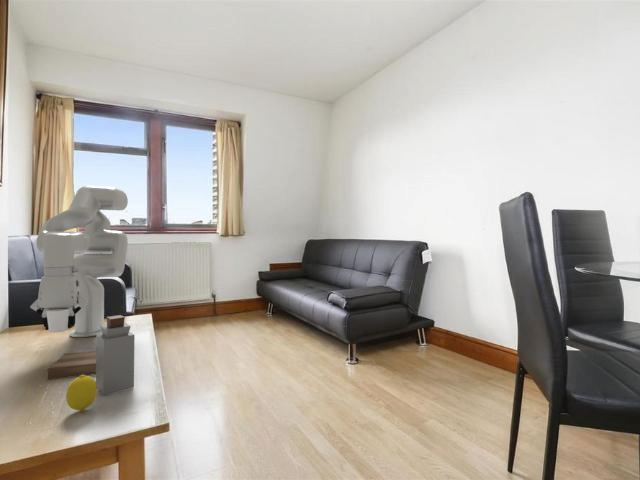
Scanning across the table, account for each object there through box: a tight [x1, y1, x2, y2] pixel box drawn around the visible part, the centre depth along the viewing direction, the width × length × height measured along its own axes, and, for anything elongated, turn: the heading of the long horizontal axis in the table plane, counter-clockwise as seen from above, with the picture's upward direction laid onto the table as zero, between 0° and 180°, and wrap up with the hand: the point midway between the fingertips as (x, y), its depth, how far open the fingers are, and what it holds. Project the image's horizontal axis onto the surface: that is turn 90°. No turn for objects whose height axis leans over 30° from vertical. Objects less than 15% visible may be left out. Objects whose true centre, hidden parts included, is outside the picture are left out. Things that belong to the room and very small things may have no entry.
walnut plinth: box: [47, 350, 96, 380], centre depth 97 cm, size 12×12×3 cm
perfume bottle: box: [95, 314, 135, 397], centre depth 85 cm, size 7×7×18 cm
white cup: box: [46, 307, 73, 333], centre depth 106 cm, size 7×7×7 cm
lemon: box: [65, 375, 98, 413], centre depth 73 cm, size 6×6×8 cm
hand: (59, 327), depth 106 cm, fingers closed on white cup, 5 cm apart
